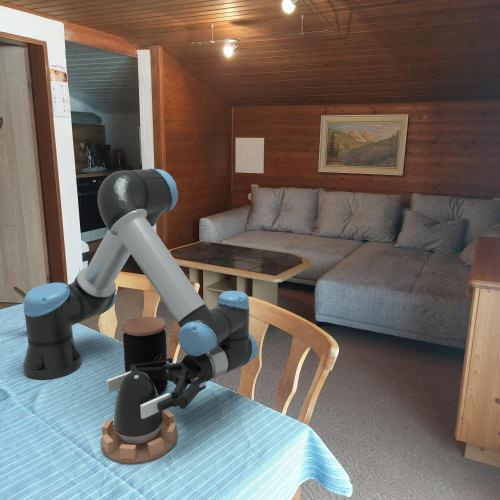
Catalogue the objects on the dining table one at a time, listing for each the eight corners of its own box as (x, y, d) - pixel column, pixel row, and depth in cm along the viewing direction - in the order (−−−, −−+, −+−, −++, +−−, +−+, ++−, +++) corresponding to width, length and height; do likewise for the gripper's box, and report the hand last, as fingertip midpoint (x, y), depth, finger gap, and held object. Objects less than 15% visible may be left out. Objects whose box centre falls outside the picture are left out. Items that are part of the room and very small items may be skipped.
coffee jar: (158, 402, 112) (155, 334, 108) (118, 397, 114) (114, 330, 110) (173, 381, 122) (171, 318, 118) (137, 376, 124) (133, 315, 121)
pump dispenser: (159, 417, 104) (156, 356, 100) (168, 445, 95) (164, 379, 91) (113, 427, 101) (108, 364, 97) (117, 457, 91) (112, 389, 87)
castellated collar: (89, 435, 99) (88, 422, 98) (155, 409, 109) (154, 397, 108) (120, 475, 87) (119, 460, 86) (191, 442, 97) (191, 428, 96)
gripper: (240, 399, 100) (158, 442, 86) (173, 362, 117) (96, 392, 103) (240, 368, 98) (157, 406, 84) (172, 335, 116) (94, 361, 101)
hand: (123, 398), depth 93 cm, fingers open, 13 cm apart
